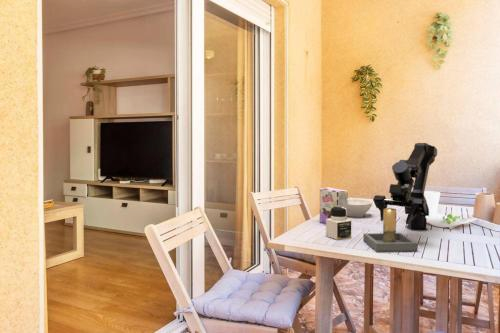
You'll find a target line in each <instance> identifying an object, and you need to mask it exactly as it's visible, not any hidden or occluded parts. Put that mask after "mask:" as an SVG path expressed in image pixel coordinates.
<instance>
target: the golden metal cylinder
mask: <svg viewBox="0 0 500 333" xmlns="http://www.w3.org/2000/svg"><path fill="white" fill-rule="evenodd" d="M382 222H383V224H382V225H383V226H382V227H383V228H382V233H383V243H396V233H397V209H396V208H390V207H387V208H385V209H384V212H383V221H382Z"/></svg>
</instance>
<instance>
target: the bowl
mask: <svg viewBox="0 0 500 333" xmlns="http://www.w3.org/2000/svg"><path fill="white" fill-rule="evenodd" d="M372 206H373V202H372V201H370V200H365V199H351V198H350V199H347V217H351V218H362V217H364V216H365V214H366V213H367V212H369V211H370V209H371V207H372Z"/></svg>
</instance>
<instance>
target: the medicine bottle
mask: <svg viewBox="0 0 500 333" xmlns="http://www.w3.org/2000/svg"><path fill="white" fill-rule="evenodd" d="M325 226H326V227H325V236H326V237H328V238H330V237H331V239H333V238H334V239H333V240H336V239H337V241H340V240H346V239H351V238H352V220H351V219H349V218H347V219H346V208H344V207H333V208H331V218H329V219H326V224H325ZM339 239H340V240H339Z"/></svg>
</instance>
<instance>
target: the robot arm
mask: <svg viewBox="0 0 500 333" xmlns="http://www.w3.org/2000/svg"><path fill="white" fill-rule="evenodd" d="M437 156H438V149H437V147H436V146H434V145H431V144H429V143H426V142H416V143H414V148H413V150H412V151H411V153H410V156H409V157H408V159H406V160H405V159H399V161H397V162H395V163H393V165H392V166H391V170H392V173H393V176H394V178H395V181H397V183H395V184H393V183H391V184H390V185H389V190H388V193H389V194H390V198H391V199H388V198H387V197H386V196H385V195H380V194H379V195H378V194H376V195H375V196H373V198H372V201H373V202H374V203H373V204H374V205H375V208H376V209H378V210H379V212H380V213H379V215H380V216H379V217H380V221H381V222H383V212H384V209H385V208H388V206H396V207H401V208H404V213H405V215H407V216H406V221H405V224H406V228H408V229H410V230H412V231H427V230H428V228H427V216H430V208H429V205H428V201H427V199H426V197H425V192H426V190H425V189H426V185H427V181H428V175H429V170H430V166H431V165H432V164H433V163H434V162H435V160H436V157H437Z"/></svg>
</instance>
